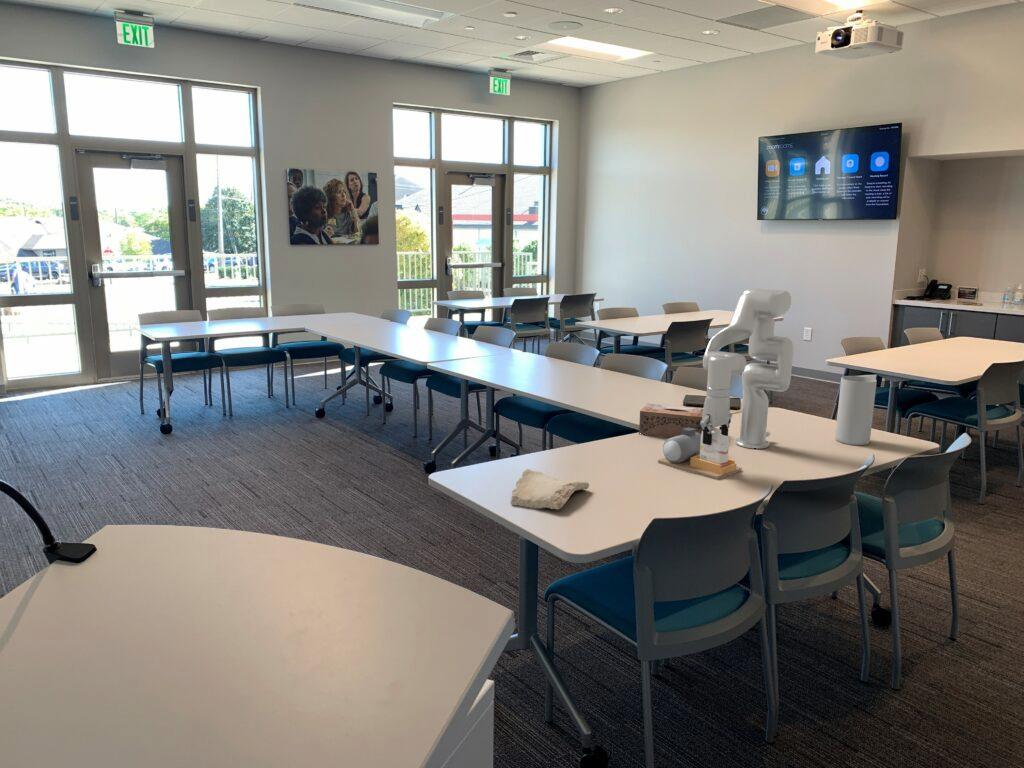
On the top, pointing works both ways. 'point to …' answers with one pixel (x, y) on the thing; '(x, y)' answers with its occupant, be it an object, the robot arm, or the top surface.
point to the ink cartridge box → (715, 448)
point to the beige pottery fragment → (543, 490)
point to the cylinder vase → (855, 410)
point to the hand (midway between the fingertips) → (715, 441)
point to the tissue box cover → (669, 420)
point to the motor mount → (693, 456)
